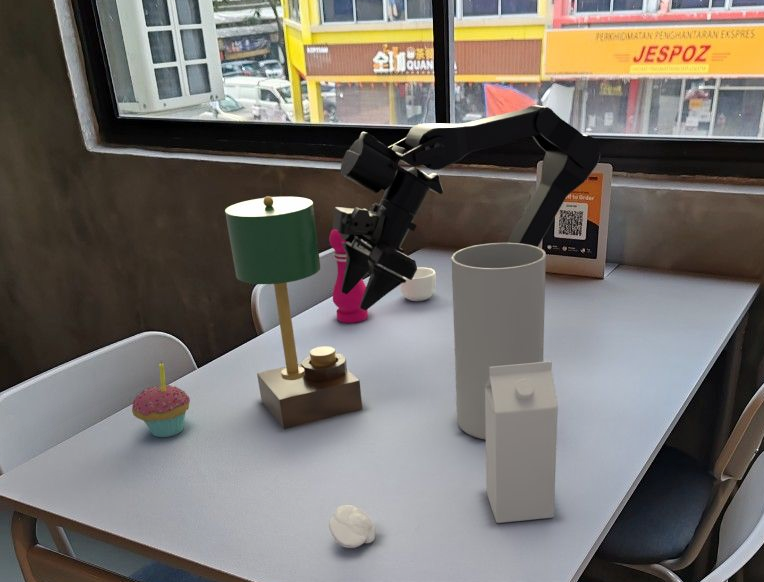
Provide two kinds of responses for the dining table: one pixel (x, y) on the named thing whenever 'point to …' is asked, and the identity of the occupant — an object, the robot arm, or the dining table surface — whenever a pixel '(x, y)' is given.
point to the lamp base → (310, 393)
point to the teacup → (419, 285)
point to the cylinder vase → (494, 319)
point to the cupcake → (162, 408)
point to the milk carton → (521, 441)
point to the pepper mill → (345, 302)
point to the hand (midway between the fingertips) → (352, 300)
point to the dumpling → (351, 527)
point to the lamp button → (322, 356)
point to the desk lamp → (275, 254)
